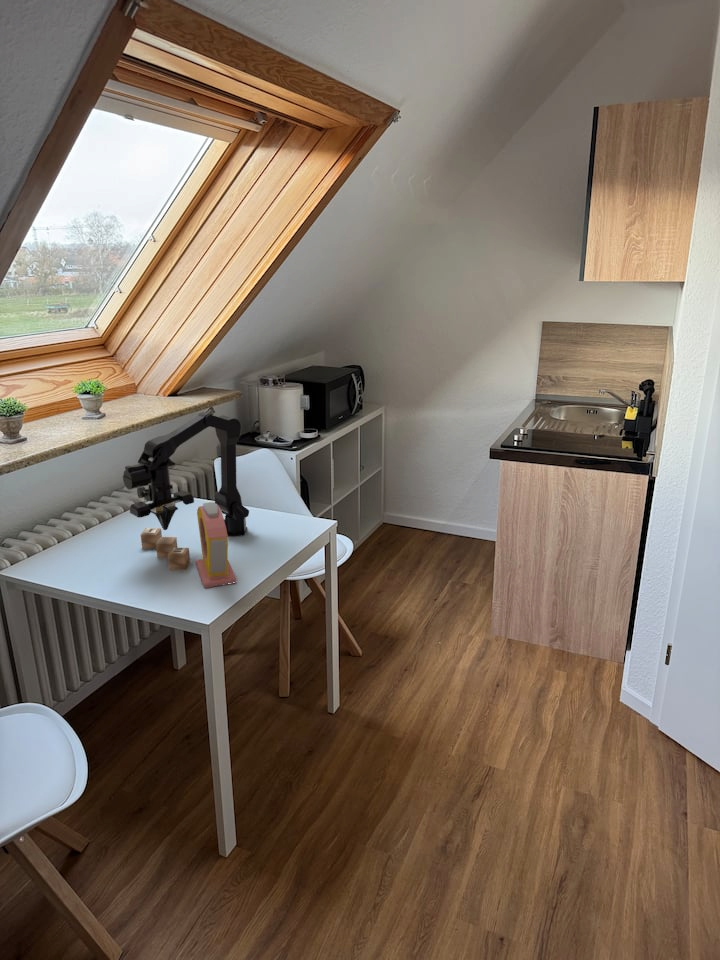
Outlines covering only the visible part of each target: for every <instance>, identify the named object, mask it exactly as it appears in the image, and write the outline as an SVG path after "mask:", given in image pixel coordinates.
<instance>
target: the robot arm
mask: <svg viewBox="0 0 720 960" xmlns="http://www.w3.org/2000/svg"><path fill="white" fill-rule="evenodd" d="M209 427H212V428H214V429H215V434H216V437H217V439H218V442H219V443H220V476H221V477H220V482H221V484H220V489H219V491H215V493H214V496H215V501H214V503H216V504H217V505H218V506H219V507H220V509H221V512H222V515H223V514H224V515H225V516H224V522H225V526H226V530H227V535H228V536H230V537H231V536H240V537H241V536H245V535H246V533H247V531H248V526H247V520H246V519H247V518H248V517H249V514H250V510H249V509H248V508H246V507H245V506H243V502H242V496H241V494H240V492H239V489H238V487H237V443H238V442H239V440H240V438H241V434H242V433H241V431H242V423H241V421H240V420H239V419H238V418H236V417H231V416H228V415H224V414H223V415H220V416H216V415H213V414H212V413H208V412H205V411H202V412H199V413H198V414H197V416H194V417H193V418H191V419H190V420H188V421H187V422H185V423H184V424H182V425H180V426H179V427H177V428H176V429H173V431H171V432H170V433H167V434H165V435H160V436H157V437H154V438H152V439H149V440H148V441H146V442H145V444H144V447H143V451H142V453H141V455H140V457H139V459H138V461H137V464H134V465H125V467H124V468H125V470H124V472H123V475H122V481H123V485H124V486H125V488H127V490H134V489H136V492H137V497H138V499H144V500H145V501H146V500H148V501H149V502H150V503H146V502H143V501H138V502H135V503H131V505H130V506H129V514H131V515H133V516H135V517H136V518H145V517H148V516H150V515H151V514H153V515H155V517H156V518H157V520H158V522H159V523H160V525H161V529H162V530H163V531H167V530H168V528H169V526H170V523H171V521H172V518H173V517H174V514H175V513H176V511H177V510H178V509H179V508H178V507H177V506H176V504H177V503H181V502H182V503H183V504H184V505H190V504H194V503H195V497H194V495H193V493H190V492H189V491H187V490H181V491H177V492H174V493H173V496H172V489H173V488H174V487H173V484H171V478H170V467H172V466H175V465H176V463H175V462H174V461H172V460H171V457H172V456H173V455H174V454H175V452H176V451H177V449H178V448H179V447H180V446H181V445H183V444H185V443H186V442H187V441H189V440H190V439H193V437H195V436H197V435H198V434H200V433H201V432H202V431H205V430H206V429H207V428H209ZM150 459H151V460H150ZM146 486H147V487H148V488H146Z"/></svg>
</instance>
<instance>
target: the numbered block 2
mask: <svg viewBox="0 0 720 960" xmlns="http://www.w3.org/2000/svg"><path fill="white" fill-rule="evenodd" d="M190 555H191V554H190V548H189V547H178V548H172V549H171V550H170V552H169V553H168V558H167V562H168V570H169V571H187V569H188V567H189V565H190V564H191V558H190V557H191V556H190Z"/></svg>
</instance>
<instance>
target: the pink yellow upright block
mask: <svg viewBox="0 0 720 960" xmlns="http://www.w3.org/2000/svg"><path fill="white" fill-rule="evenodd" d="M196 511H197V513H196V515H197V521H198V522H197V523H198V524H197V525H198V531H199V539H200V546H201V547H200V548H201V556H202V558H200V559H197V560H195V565H196V568H197V569H196V570H197V571H198V574H199V577H200V580H201V583H202V586H203V588H205V589H207V588H206V587H209V588H213V587H212V586H215V587H218V586H217V585H221V586H224V585H223V584H227V585H229V584H228V583H233V582H236V581H237V582H238V579H237V577H236V574H235V572H234V570H233V568H232V565H231V563H230V562H229V558H228V557H229V552H228V551H229V550H228V548H229V543H228V542H229V541H228V540H229V537H228V535H227V530H226V526H225V522H224V519H225V517H224V516H223V513H222V511H221V509H220V507H219V506H218V505H217V504H216V503H215V501H214V502H213V501H212V502H211V501H210V502H204V503H202V505H200V506H198V508H197V510H196ZM237 582H236V583H237ZM233 584H234V583H233Z"/></svg>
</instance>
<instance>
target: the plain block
mask: <svg viewBox="0 0 720 960" xmlns="http://www.w3.org/2000/svg"><path fill="white" fill-rule="evenodd" d="M177 538H178V537H176V536H162V537H160V539H159V540H158V541H157V543H156V549H155V550H156V558H157V559H168V553H169V552H170V550H171V549H172V548H179V547H178V540H177Z"/></svg>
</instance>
